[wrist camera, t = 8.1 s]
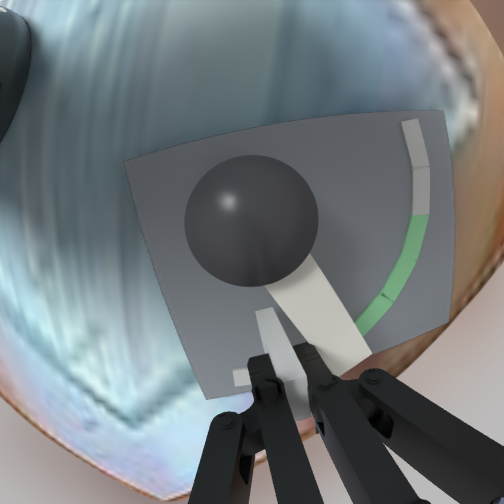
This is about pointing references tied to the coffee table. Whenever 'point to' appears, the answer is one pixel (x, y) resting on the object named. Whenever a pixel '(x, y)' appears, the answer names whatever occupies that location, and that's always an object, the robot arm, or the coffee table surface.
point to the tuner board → (328, 235)
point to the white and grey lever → (271, 248)
